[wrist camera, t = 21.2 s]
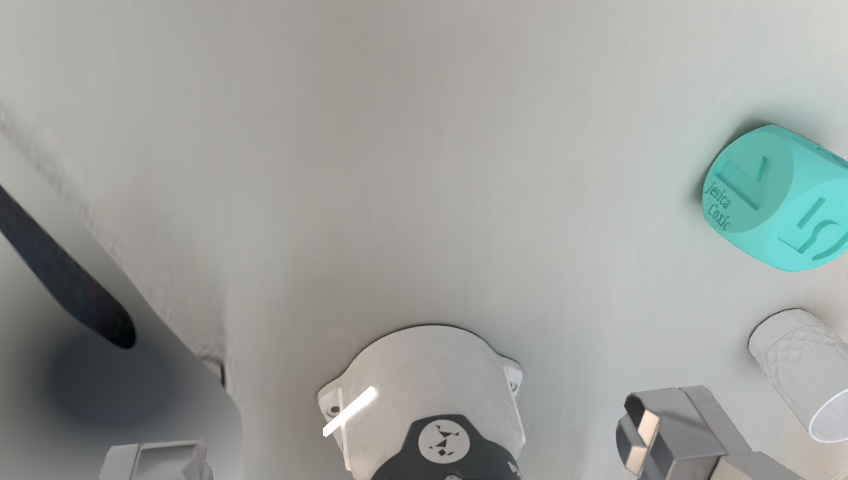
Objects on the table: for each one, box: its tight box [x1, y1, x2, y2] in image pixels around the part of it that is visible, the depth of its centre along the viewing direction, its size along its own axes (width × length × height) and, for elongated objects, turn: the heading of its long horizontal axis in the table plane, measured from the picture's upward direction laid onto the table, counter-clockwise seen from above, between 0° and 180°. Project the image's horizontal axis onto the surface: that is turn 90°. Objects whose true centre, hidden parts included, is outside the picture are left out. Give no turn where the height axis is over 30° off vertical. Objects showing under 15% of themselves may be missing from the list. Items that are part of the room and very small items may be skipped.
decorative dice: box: [702, 124, 848, 272], centre depth 45 cm, size 8×8×8 cm
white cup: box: [748, 309, 848, 443], centre depth 57 cm, size 8×8×10 cm
